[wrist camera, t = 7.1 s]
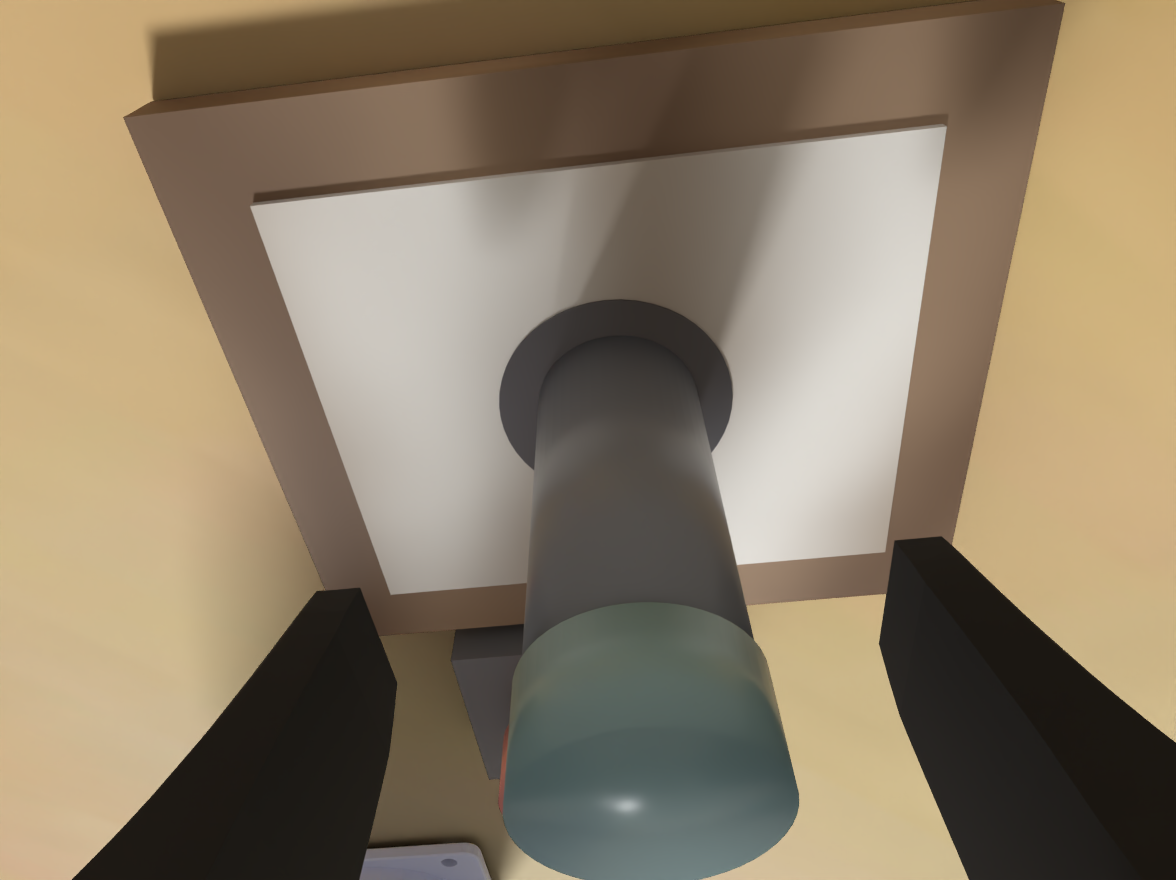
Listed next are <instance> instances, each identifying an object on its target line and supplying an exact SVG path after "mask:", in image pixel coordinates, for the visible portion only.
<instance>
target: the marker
mask: <svg viewBox="0 0 1176 880" xmlns="http://www.w3.org/2000/svg"><path fill="white" fill-rule="evenodd" d="M798 807H799V792H798V788H797V784H796V780H795V776H794V772H793V767H792V763H791V759H790V755H789V751H788V746H787V742H786V738H785V734H784V730H783V725H782V721H781V717H780V713H779V709H778V704H777V700H776V696H775V692H774V688H773V684H772V679H771V675H770V671H769V667H768V664H767V660H766V658H765V656H764V654H763V652H762V650H761V649H760V647H759V646H758V645H757V643H756V642H755V641H754V638H753V634H752V629H751V625H750V621H749V616H748V612H747V607H746V603H745V599H744V594H743V590H742V586H741V581H740V577H739V572H738V568H737V564H736V559H735V555H734V550H733V546H732V542H731V537H730V533H729V529H728V524H727V520H726V515H725V511H724V507H723V502H722V498H721V493H720V489H719V485H718V480H717V476H716V472H715V467H714V463H713V458H712V454H711V450H710V445H709V441H708V437H707V432H706V428H705V423H704V419H703V415H702V410H701V406H700V401H699V397H698V393H697V388H696V385H695V381H694V379H693V377H692V375H691V372H690V371H689V369H688V368H687V366H686V365H685V364H684V363H683V361H682V360H681V359H680V358H679V357H678V356H677V355H675V354H674V353H673V352H672V351H670V350H669V349H667V348H666V347H664V346H662V345H660V344H658V343H656V342H654V341H650V340H647V339H644V338H639V337H634V336H623V335H621V336H607V337H601V338H597V339H594V340H590V341H587V342H585V343H583V344H580V345H578V346H576V347H575V348H573V349H571V350H570V351H568V352H567V353H566V354H564V355H563V356H562V357H561V358H560V359H559V360H558V361H557V362H556V363H555V364H554V365H553V366H552V367H551V369H550V370H549V371H548V373H547V375H546V377H545V378H544V381H543V383H542V386H541V389H540V394H539V403H538V419H537V434H536V450H535V465H534V481H533V496H532V512H531V527H530V542H529V558H528V573H527V589H526V604H525V620H524V635H523V651H522V657H521V658H520V660H519V662H518V664H517V666H516V669H515V672H514V676H513V680H512V692H511V706H510V719H509V732H508V746H507V759H506V773H505V786H504V799H503V819H504V824H505V827H506V829H507V831H508V834H509V835H510V837H511V838H512V840H513V841H514V842H515V844H516V845H517V846H518V847H519V848H520V849H521V850H522V851H523V852H524V853H526V854H527V855H528V856H530V857H531V858H533V859H534V860H536V861H537V862H539V863H541V864H543V865H544V866H546V867H548V868H551V869H553V870H555V871H558V872H560V873H563V874H566V875H569V876H572V877H575V878H579V879H584V880H699V879H703V878H708V877H711V876H715V875H718V874H721V873H724V872H727V871H730V870H732V869H735V868H737V867H740V866H742V865H744V864H746V863H748V862H750V861H752V860H754V859H756V858H757V857H759V856H760V855H762V854H764V853H765V852H767V851H768V850H769V849H770V848H772V847H773V846H774V845H776V844H777V843H778V842H779V841H780V840H781V839H782V838H783V837H784V836H785V834H786V833H787V832H788V830H789V829H790V827H791V826H792V825H793V822H794V820H795V818H796V816H797V812H798Z"/></svg>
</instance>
